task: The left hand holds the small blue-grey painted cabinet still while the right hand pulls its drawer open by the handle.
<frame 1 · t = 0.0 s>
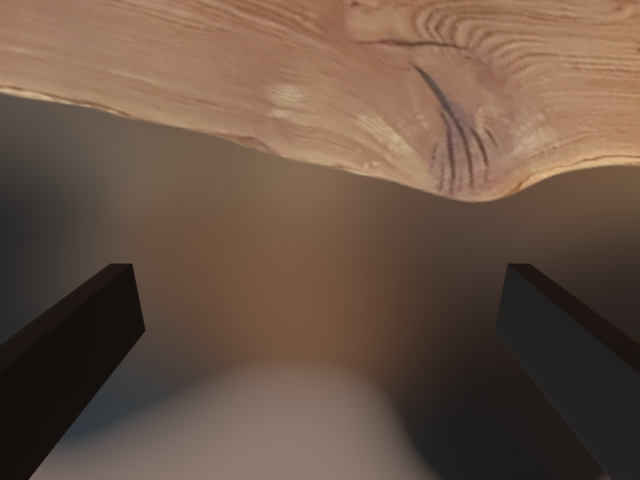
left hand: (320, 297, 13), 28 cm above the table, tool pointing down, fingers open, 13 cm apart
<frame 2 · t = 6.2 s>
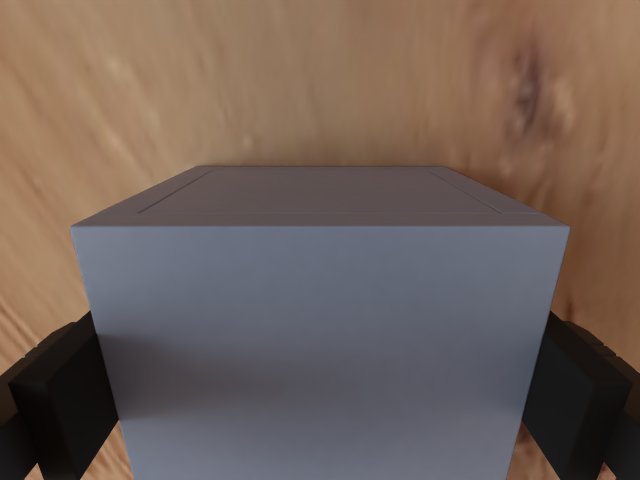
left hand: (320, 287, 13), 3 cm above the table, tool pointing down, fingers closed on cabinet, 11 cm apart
cabinet: (320, 344, 18), on the table, touching left hand
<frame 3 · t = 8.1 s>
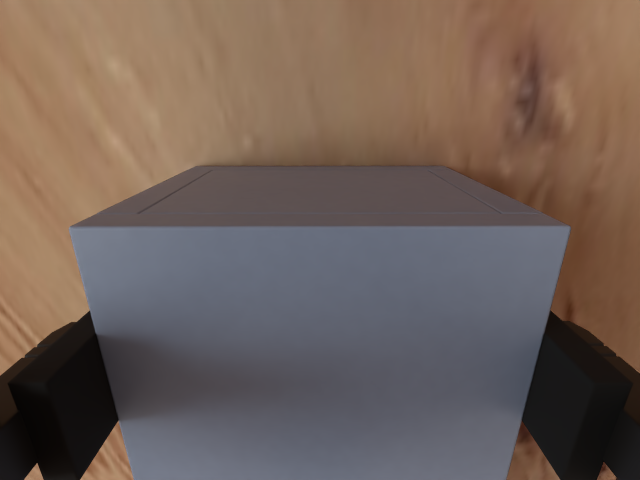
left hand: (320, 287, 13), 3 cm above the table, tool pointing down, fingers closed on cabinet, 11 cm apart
cabinet: (320, 343, 18), on the table, touching left hand
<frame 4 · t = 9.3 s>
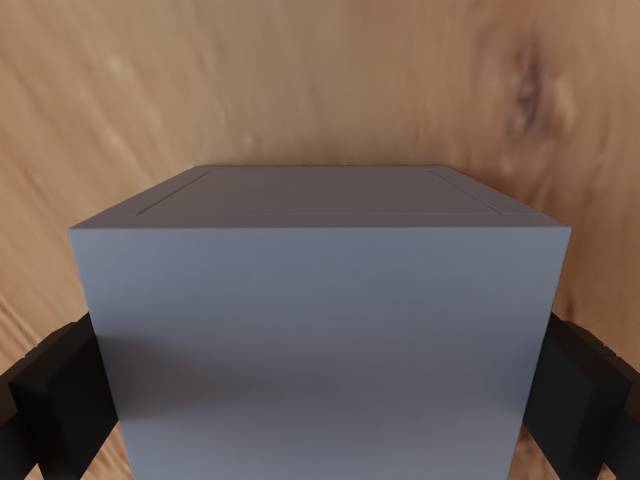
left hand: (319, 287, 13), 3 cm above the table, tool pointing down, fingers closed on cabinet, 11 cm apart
cabinet: (320, 343, 18), on the table, touching left hand
when the left hand's fingers open (3 cm above the table, at t = 11.1 s): cabinet stays where it is, on the table.
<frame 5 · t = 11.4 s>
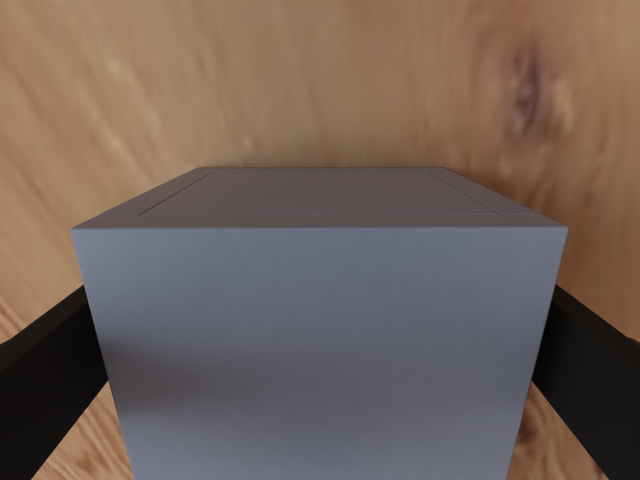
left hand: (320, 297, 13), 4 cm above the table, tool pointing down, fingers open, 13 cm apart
cabinet: (320, 345, 18), on the table
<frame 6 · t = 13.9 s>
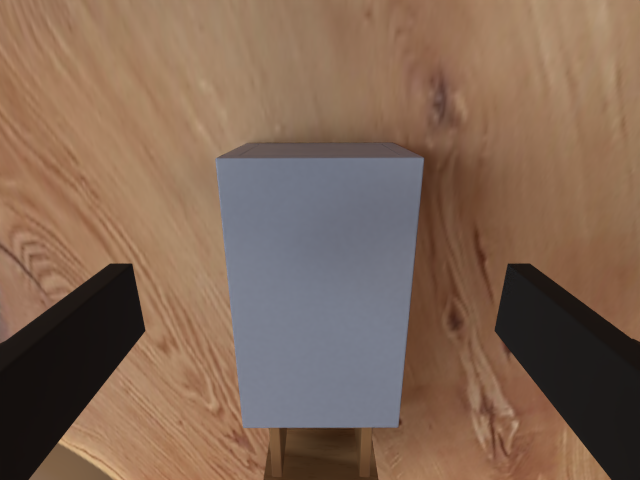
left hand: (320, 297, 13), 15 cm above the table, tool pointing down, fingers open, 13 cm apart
drawer: (320, 420, 30), point 4 cm above the table, slide at 8.1 cm
cabinet: (320, 258, 29), on the table
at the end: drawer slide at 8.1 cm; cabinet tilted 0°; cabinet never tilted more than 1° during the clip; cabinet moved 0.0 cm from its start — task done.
